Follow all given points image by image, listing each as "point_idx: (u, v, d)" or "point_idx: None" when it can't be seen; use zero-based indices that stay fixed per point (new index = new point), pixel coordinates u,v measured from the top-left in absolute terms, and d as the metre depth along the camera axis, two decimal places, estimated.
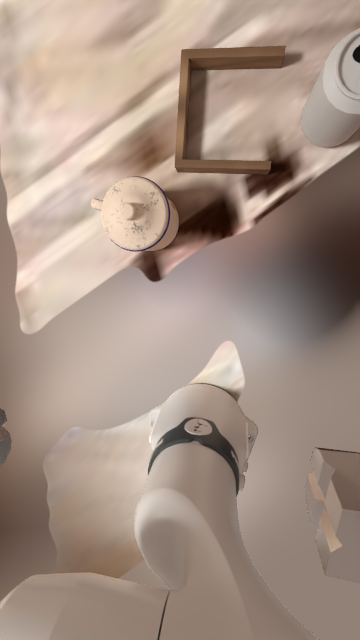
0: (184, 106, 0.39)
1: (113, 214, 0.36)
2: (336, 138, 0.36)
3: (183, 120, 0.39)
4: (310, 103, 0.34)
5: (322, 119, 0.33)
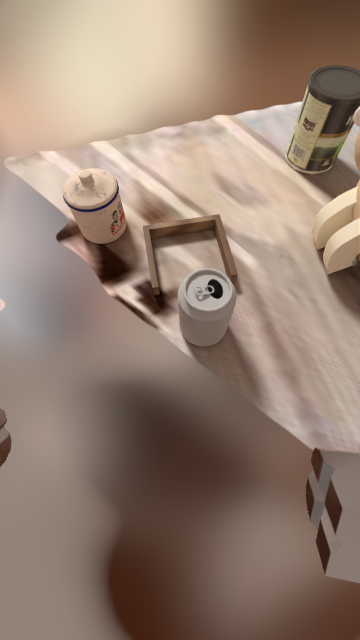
0: (184, 223, 0.52)
1: None
2: None
3: (175, 224, 0.52)
4: None
5: None
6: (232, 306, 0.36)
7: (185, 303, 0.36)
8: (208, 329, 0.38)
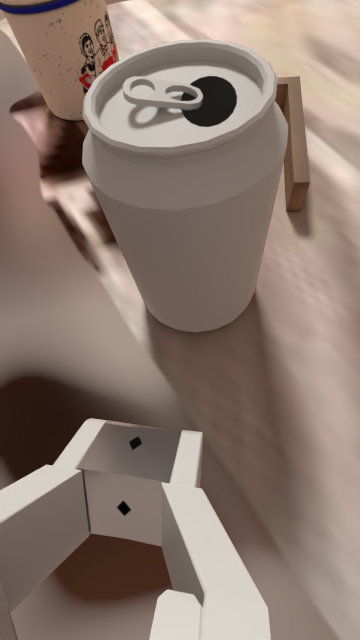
0: None
1: None
2: None
3: None
4: None
5: None
6: (258, 172, 0.09)
7: (90, 137, 0.10)
8: (166, 261, 0.11)
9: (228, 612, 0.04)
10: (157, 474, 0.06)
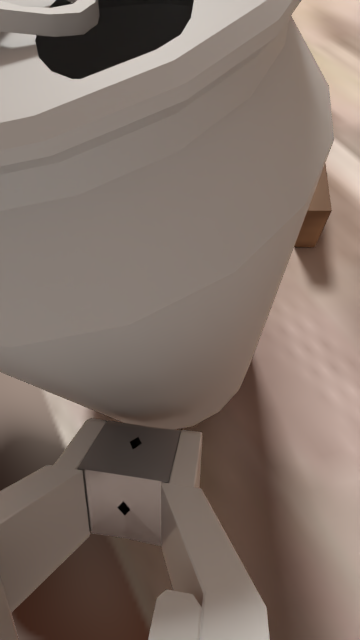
0: None
1: None
2: None
3: None
4: None
5: None
6: (264, 218, 0.03)
7: None
8: (65, 393, 0.05)
9: (227, 611, 0.04)
10: (156, 474, 0.06)
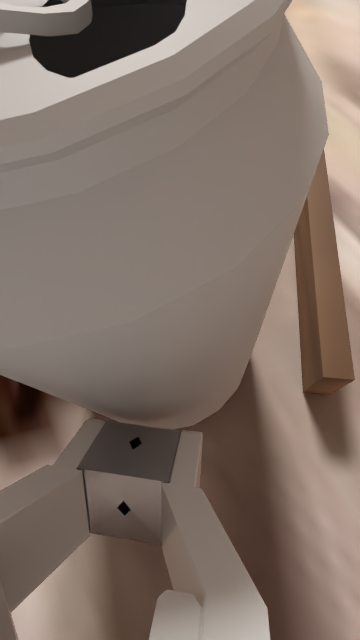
0: None
1: None
2: None
3: None
4: None
5: None
6: (262, 213, 0.03)
7: None
8: (66, 394, 0.05)
9: (228, 612, 0.04)
10: (156, 474, 0.06)
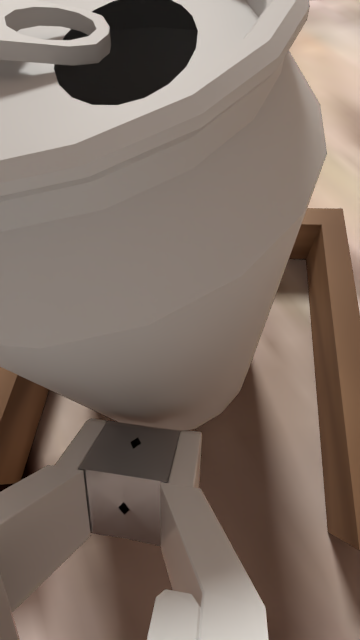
0: None
1: None
2: None
3: None
4: None
5: None
6: (267, 226, 0.03)
7: None
8: (77, 395, 0.06)
9: (226, 611, 0.04)
10: (155, 473, 0.06)
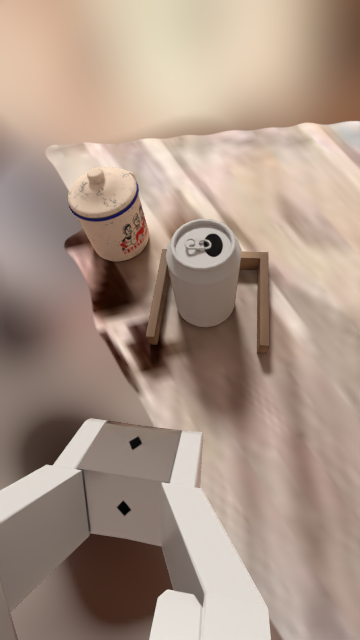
0: None
1: None
2: None
3: None
4: None
5: None
6: (231, 270, 0.28)
7: (171, 257, 0.28)
8: (198, 298, 0.30)
9: (228, 612, 0.04)
10: (156, 474, 0.06)
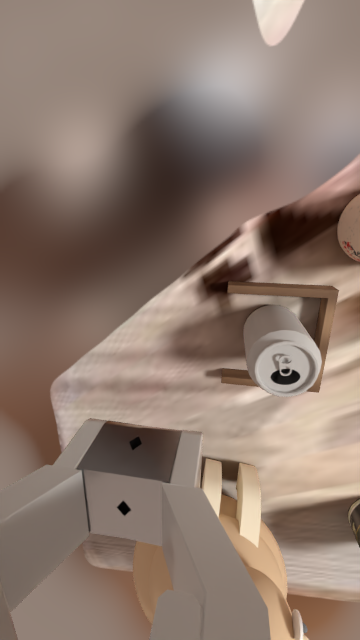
0: (320, 347, 0.37)
1: None
2: (275, 312, 0.35)
3: (323, 335, 0.37)
4: None
5: (302, 327, 0.32)
6: (259, 386, 0.32)
7: (275, 339, 0.29)
8: (246, 348, 0.33)
9: (228, 612, 0.04)
10: (156, 474, 0.06)
